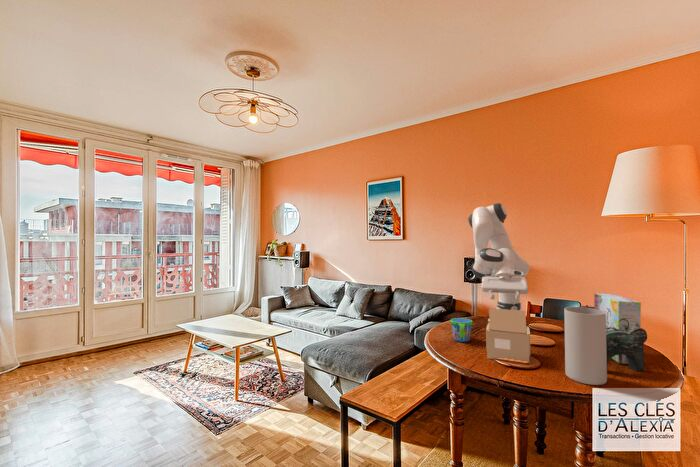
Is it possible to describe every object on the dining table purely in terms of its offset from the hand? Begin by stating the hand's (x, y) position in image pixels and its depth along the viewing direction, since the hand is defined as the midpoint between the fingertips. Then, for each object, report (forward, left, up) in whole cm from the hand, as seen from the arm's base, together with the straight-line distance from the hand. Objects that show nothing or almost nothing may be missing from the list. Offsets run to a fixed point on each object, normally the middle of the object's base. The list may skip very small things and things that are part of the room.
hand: (503, 299), depth 153 cm
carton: (+7, -2, -23) cm, 24 cm away
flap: (+12, -4, -7) cm, 14 cm away
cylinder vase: (+31, +15, -24) cm, 42 cm away
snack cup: (-15, -15, -24) cm, 31 cm away
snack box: (+9, +45, -24) cm, 51 cm away
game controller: (+25, +34, -24) cm, 48 cm away
